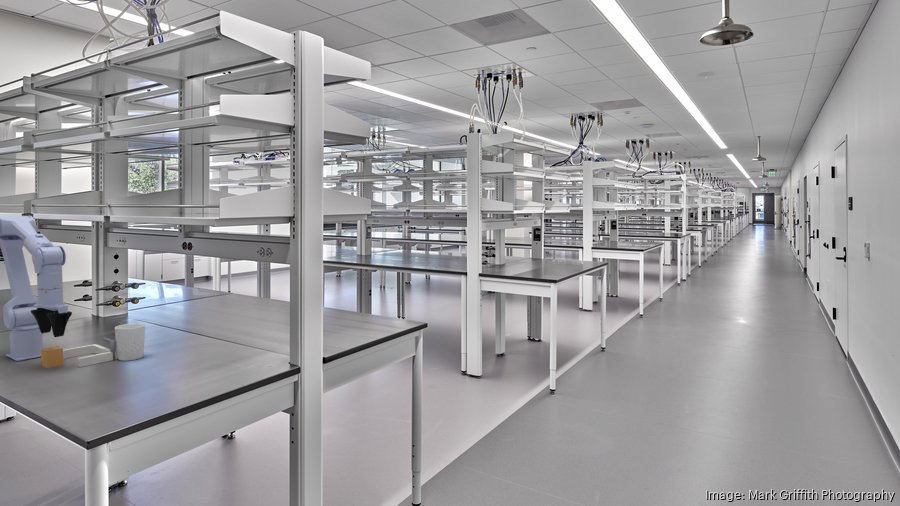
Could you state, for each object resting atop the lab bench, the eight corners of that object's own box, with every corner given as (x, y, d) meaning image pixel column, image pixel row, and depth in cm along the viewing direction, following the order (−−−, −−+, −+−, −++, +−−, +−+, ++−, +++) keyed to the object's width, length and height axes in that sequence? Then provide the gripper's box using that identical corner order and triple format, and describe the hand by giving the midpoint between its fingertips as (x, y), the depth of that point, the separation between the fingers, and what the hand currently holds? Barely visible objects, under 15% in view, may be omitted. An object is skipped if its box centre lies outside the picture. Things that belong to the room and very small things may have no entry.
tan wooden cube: (41, 365, 147) (40, 349, 146) (58, 362, 150) (57, 346, 149) (47, 368, 144) (46, 351, 144) (63, 365, 148) (62, 348, 147)
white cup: (148, 353, 161) (147, 322, 160) (142, 360, 154) (141, 328, 153) (119, 355, 158) (118, 324, 157) (112, 362, 151) (111, 329, 150)
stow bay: (59, 358, 154) (58, 339, 153) (96, 351, 162) (95, 333, 161) (79, 367, 146) (78, 347, 145) (116, 359, 154) (116, 340, 153)
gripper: (21, 287, 144) (23, 333, 146) (46, 292, 138) (48, 341, 139) (50, 284, 151) (52, 329, 152) (75, 289, 144) (77, 335, 145)
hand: (52, 334), depth 146 cm, fingers open, 7 cm apart
